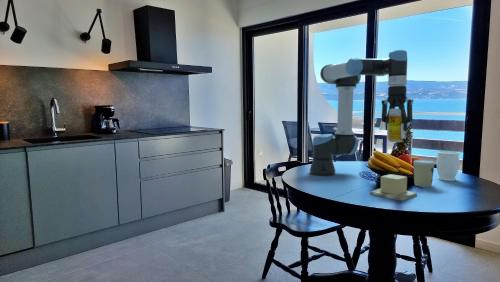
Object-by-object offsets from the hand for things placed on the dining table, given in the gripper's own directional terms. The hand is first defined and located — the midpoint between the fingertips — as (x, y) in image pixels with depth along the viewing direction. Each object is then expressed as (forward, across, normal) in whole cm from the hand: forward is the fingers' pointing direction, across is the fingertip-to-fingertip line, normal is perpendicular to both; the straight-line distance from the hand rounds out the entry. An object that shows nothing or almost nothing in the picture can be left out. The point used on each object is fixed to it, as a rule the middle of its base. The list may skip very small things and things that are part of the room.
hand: (396, 137), depth 150 cm
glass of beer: (+2, 0, 0) cm, 2 cm away
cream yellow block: (+24, +1, -3) cm, 25 cm away
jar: (+26, +6, +48) cm, 54 cm away
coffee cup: (+26, +2, +26) cm, 36 cm away
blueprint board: (+26, +1, -3) cm, 26 cm away
